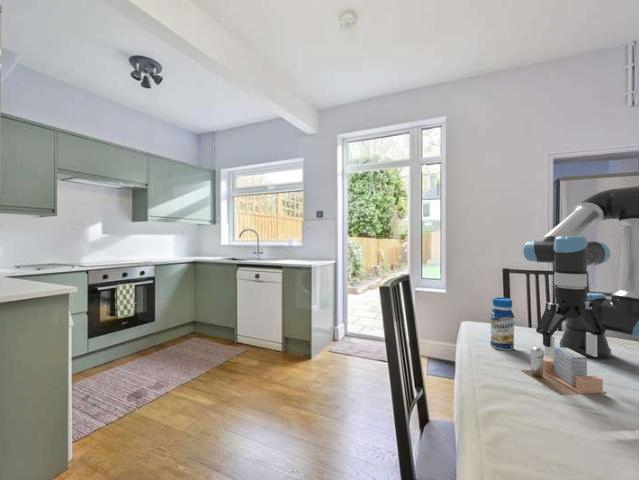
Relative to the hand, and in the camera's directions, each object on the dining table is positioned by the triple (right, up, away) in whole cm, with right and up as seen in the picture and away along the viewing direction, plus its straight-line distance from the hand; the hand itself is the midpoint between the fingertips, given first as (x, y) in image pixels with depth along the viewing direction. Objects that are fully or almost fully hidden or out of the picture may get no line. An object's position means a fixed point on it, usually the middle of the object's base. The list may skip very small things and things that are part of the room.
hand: (570, 356), depth 88 cm
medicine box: (-1, -8, 0) cm, 8 cm away
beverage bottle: (-2, -9, +31) cm, 32 cm away
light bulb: (-8, -8, +3) cm, 11 cm away
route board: (-3, -9, 0) cm, 9 cm away
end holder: (-1, -8, 0) cm, 8 cm away
